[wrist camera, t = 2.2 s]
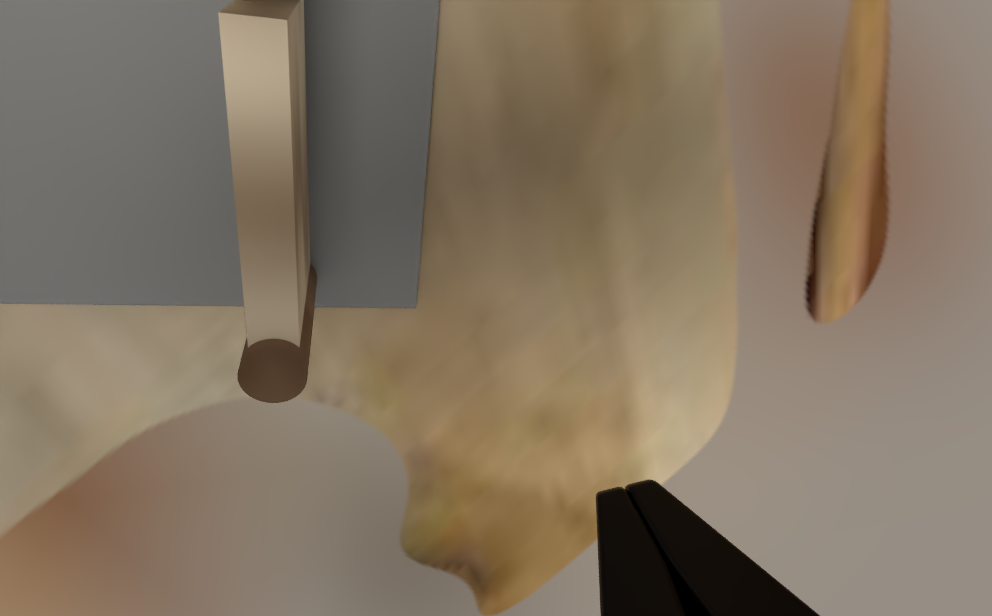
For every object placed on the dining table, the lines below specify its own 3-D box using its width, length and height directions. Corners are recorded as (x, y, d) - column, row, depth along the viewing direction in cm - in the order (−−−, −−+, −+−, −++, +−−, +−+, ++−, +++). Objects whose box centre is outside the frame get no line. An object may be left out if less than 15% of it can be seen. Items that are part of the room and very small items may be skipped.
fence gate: (317, 300, 20) (307, 402, 16) (264, 299, 20) (240, 403, 15) (312, -5, 15) (296, 25, 11) (242, -14, 15) (200, 14, 11)
